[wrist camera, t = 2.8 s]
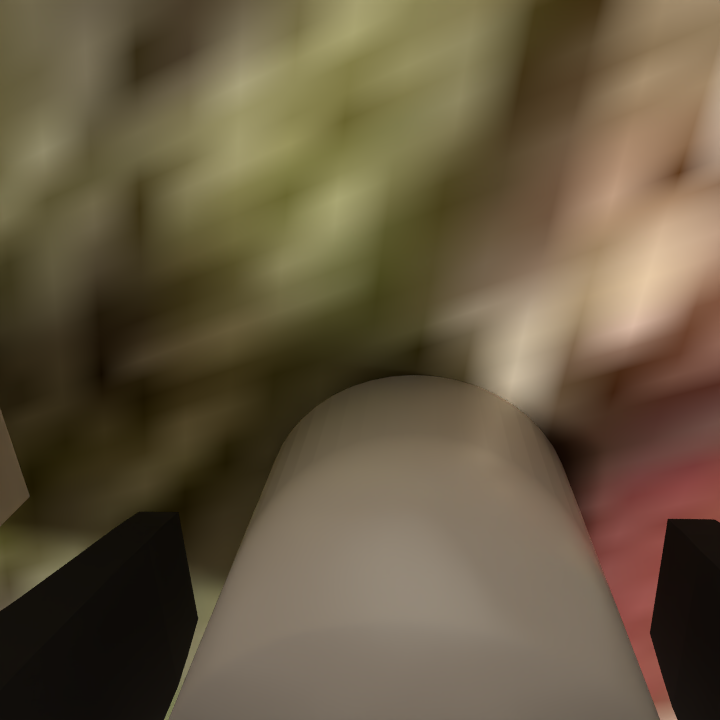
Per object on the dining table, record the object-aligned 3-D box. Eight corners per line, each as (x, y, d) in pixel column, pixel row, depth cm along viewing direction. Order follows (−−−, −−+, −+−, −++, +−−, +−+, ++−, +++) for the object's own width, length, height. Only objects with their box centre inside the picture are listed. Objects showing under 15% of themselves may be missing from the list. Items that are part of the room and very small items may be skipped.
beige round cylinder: (559, 631, 11) (653, 995, 7) (283, 622, 12) (194, 955, 7) (581, 372, 9) (732, 631, 5) (252, 375, 10) (107, 612, 5)
